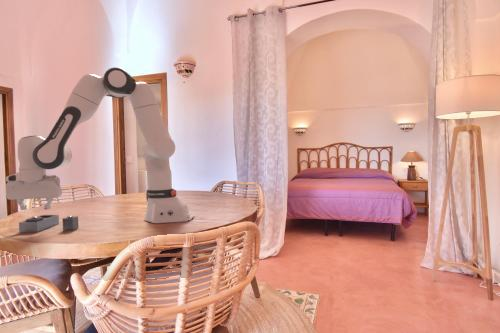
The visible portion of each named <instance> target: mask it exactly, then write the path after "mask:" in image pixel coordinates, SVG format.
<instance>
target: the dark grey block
mask: <svg viewBox="0 0 500 333" xmlns="http://www.w3.org/2000/svg"><path fill="white" fill-rule="evenodd" d="M61 220H62V231H63V232H65V231H66V232H69V231H70V232H71V231H75V230H78V229H79V216H78V215H77V216H76V215H75V216H74V215H67V216H65V217H63V218H62V219H61Z"/></svg>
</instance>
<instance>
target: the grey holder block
mask: <svg viewBox="0 0 500 333" xmlns="http://www.w3.org/2000/svg"><path fill="white" fill-rule="evenodd" d="M37 216H38V215H37ZM59 216H60V215H59V214H41V215H39V216H38V217H43V220H40V221H37V222H26V219H25V220H23V221H19V222H18V230H19V231H18V232H19V233H22V234H23V233H38V232H42V231H44V230H46V229H49V228H51V227H54V226H56V225H57V226H58V225H60V217H59Z"/></svg>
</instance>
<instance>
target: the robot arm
mask: <svg viewBox="0 0 500 333" xmlns="http://www.w3.org/2000/svg"><path fill="white" fill-rule="evenodd" d="M104 97H111V98H116V99H122V98H128V99H129V101H130V104H131V105H132V106H131V107H132V109H133V113H134V116H135V119H136V122H137V125H138V128H139V129H140V130H141V134H142V135H143V138H144V139H145V142H144V144H143V154H144V155H143V157H144V162H145V168H146V187H147V189H146V195H145V196H146V197H145V198H146V211H145V216H144V221H145V222H150V223H152V224H163V223H165V224H166V223H181V222H188V220H189V221H191V220H193V219H194V213H192V212H190V210H189V206H188V203H186V202H185V201H183V200H182V199H181V198H180V197H178V196H177V189H174V188H172V187H173V186H172V185H173V184H172V182H173V181H172V180H173V179H172V170H171V168H170V167H171V166H170V162H169V158H171V157H172V156H173V155H174V154H175V151H176V144H175V142H174V140H173V139H172V136H171V134H170V133H169V130H168V129H167V126H166V124H165V121H164V119H163V116H162V113H161V110H160V106H159V104H158V100H157V98H156V95H155V93H154V91H153V89H152V87H151V85H150V84H148V83H147V82H144V81H138V82H137V81H136V79H135V78H134V77H133V76H132V75H131V74H130V73H129V72H128V71H127V70H125V69H123V68H122V67H119V66H118V67H115V66H114V67H110V68H108V69H107V70H105V73H104V74H103V76H102V77H101V76H98V75H96V74H92V73H86V74H84V75H82V76H81V78H80V79H79V80H78V81H77V83H76V85H75V86H74V88H73V89H72V91H71V93H70V95H69V97H68V99H67V101H66V103H65V105H64V108H63V110H62V111H61V114H60V116H59V118H57V120H56V122H55V124H54V126H53V127H52V129H51V131H50V133H49V134H48V136H47V137H46V138H44V137H43V136H41V135H28V136H24V137H21V138H20V139H18V142H17V161H18V162H19V165H18V166H19V167H18V172H15V173H13V174H10V175H8V176H5V181H6V182H7V183H6V185H5V197H6V199H7V200H16V203H17V204H18V206H19V207H20V208H19V209H20V210H21V211H26V210H28V205H27V204H25V203H24V201H25V200H34V199H35V200H36V199H39V200H40V199H45V200H46V204H43V210H50V209H51V204H52V202H53V201H54V199H57V198H60V197H61V196H62V194H63V192H62V186H61V179H60V177H58V176H57V175H55V174H53V175H50V174H48V175H47V170H54V169H56V168H59V167H63V166H65V165H67V164H69V163H70V161H71V160H72V157H73V154H72V151H71V149H70V148H69V147H68V146H66V144H67V143H68V141H69V139H70V138H71V136H72V134H73V132H74V130H75V129H76V128H77V127H78V126H79V125H81V124H82V123H84V122H86V121H89V120H90V119H91V118H92V117H93V116H94V115H95V113H96V112H97V111H98V109H99V107H100V104H101V103H102V101H103V99H104ZM192 218H193V219H192Z"/></svg>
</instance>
